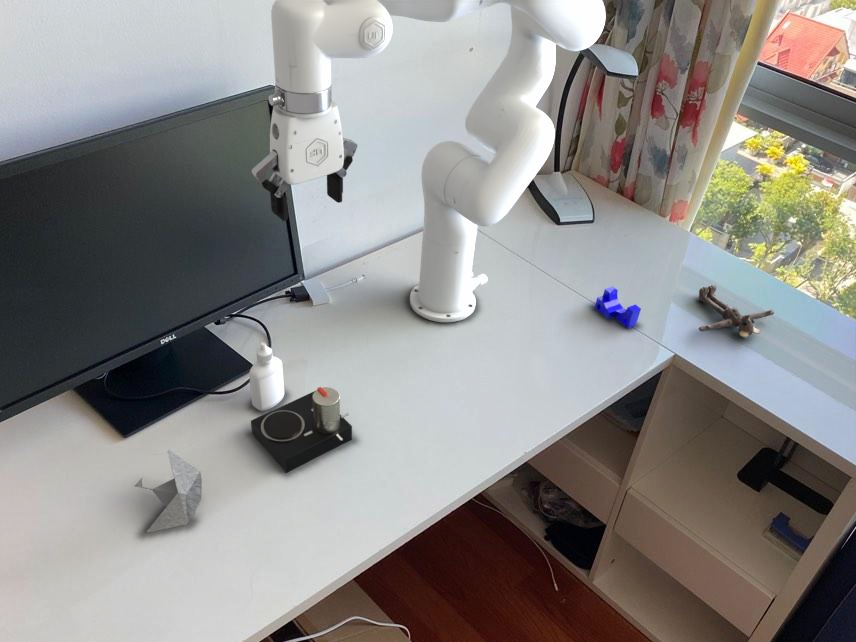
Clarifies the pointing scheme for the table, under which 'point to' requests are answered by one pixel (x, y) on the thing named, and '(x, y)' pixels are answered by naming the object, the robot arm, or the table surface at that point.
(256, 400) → the eye dropper bottle
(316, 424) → the knob
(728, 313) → the brown monkey figure
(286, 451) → the hot plate
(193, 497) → the origami crane
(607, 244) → the table surface
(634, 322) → the cable holder
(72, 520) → the table surface
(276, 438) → the burner
